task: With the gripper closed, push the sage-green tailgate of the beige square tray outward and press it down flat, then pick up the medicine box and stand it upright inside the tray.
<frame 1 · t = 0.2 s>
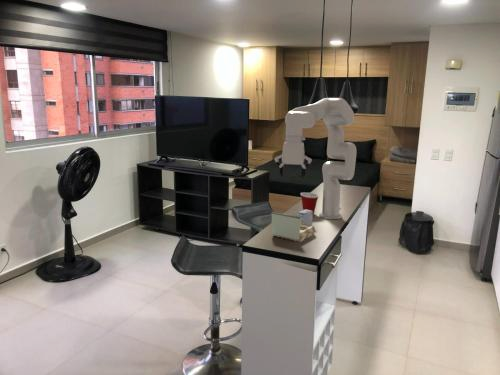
hand: (292, 176, 190), 30 cm above the table, tool pointing down, fingers open, 9 cm apart
beige square tray: (293, 235, 199), on the table
plastic cup: (309, 214, 237), on the table
medicine box: (304, 227, 212), on the table
tailgate: (285, 225, 191), point 7 cm above the table, hinge at 0.0°
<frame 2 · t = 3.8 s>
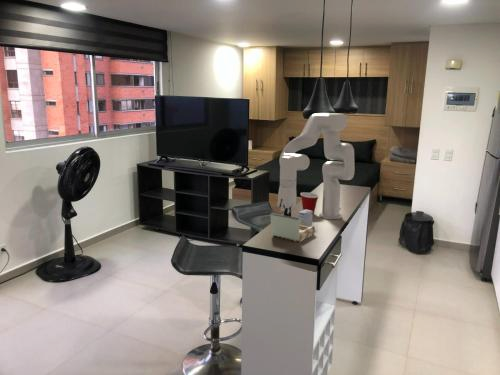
hand: (287, 221, 192), 9 cm above the table, tool pointing down, fingers closed
tailgate: (284, 226, 190), point 7 cm above the table, hinge at 7.0°, touching gripper
everything else where it was.
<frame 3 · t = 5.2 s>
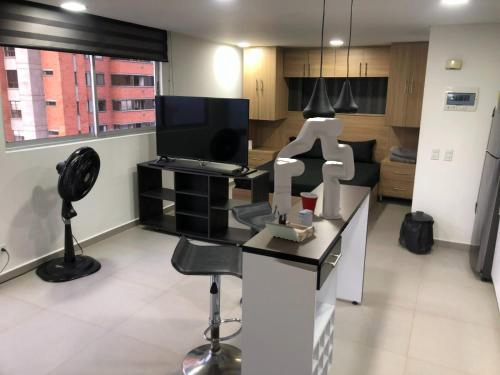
hand: (282, 227, 189), 7 cm above the table, tool pointing down, fingers closed
tailgate: (281, 231, 189), point 5 cm above the table, hinge at 39.7°, touching gripper
everything else where it was.
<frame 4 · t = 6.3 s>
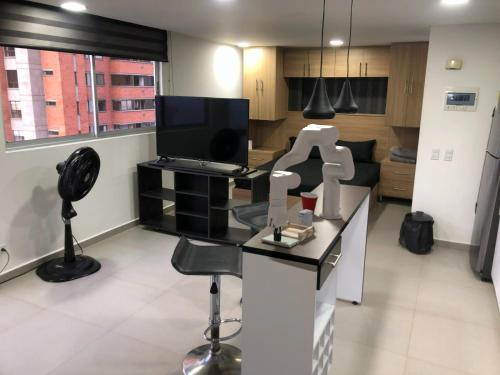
hand: (277, 240, 187), 2 cm above the table, tool pointing down, fingers closed
tailgate: (280, 240, 189), point 1 cm above the table, hinge at 88.2°, touching gripper
everything else where it was.
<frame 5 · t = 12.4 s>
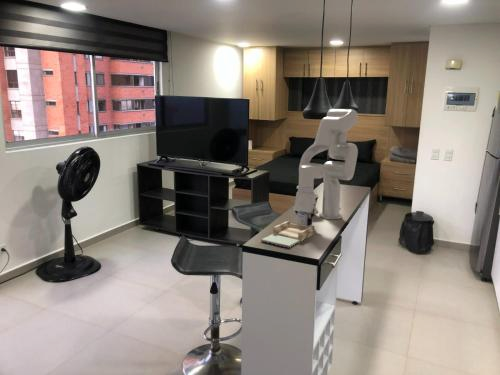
hand: (304, 223, 211), 2 cm above the table, tool pointing down, fingers closed on medicine box, 4 cm apart
medicine box: (304, 227, 212), on the table, touching gripper
tailgate: (280, 240, 189), point 1 cm above the table, hinge at 89.5°
everything else where it was.
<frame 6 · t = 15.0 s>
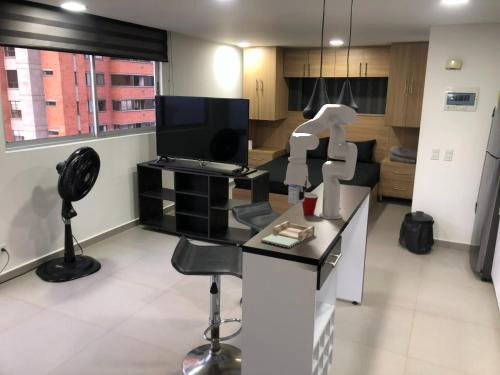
hand: (296, 198, 197), 18 cm above the table, tool pointing down, fingers closed on medicine box, 4 cm apart
medicine box: (296, 202, 198), point 16 cm above the table, touching gripper
everything else where it was.
when the fingers open (5 cm above the table, at t = 17.9 s): medicine box drops 1 cm, resting on beige square tray.
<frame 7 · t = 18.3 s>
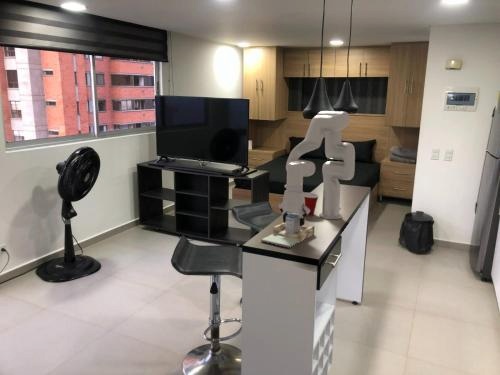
hand: (293, 223, 197), 6 cm above the table, tool pointing down, fingers open, 8 cm apart
medicine box: (293, 232, 198), point 2 cm above the table, touching beige square tray
everything else where it was.
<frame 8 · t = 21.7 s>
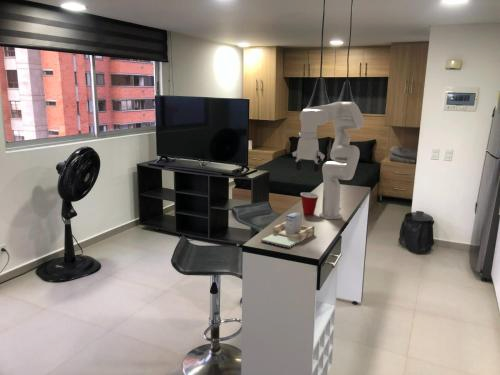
hand: (307, 170, 202), 30 cm above the table, tool pointing down, fingers open, 9 cm apart
nothing on the table moved.
at the end: tailgate at +90° (first picture: +0°); medicine box inside the target area (0.1 cm from its centre), point 1.8 cm above the table; medicine box tilted 0° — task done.
